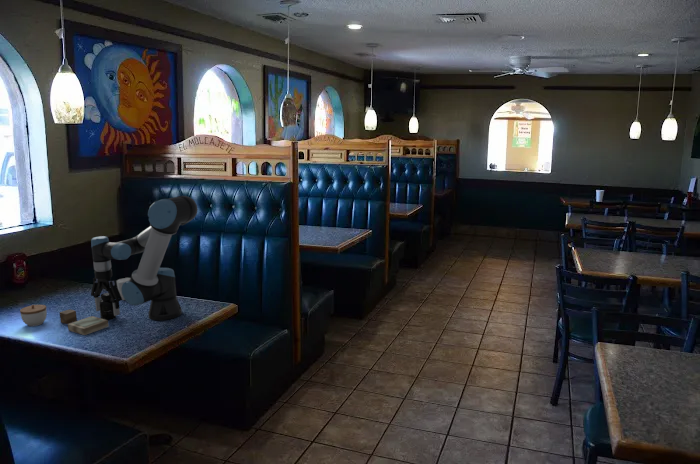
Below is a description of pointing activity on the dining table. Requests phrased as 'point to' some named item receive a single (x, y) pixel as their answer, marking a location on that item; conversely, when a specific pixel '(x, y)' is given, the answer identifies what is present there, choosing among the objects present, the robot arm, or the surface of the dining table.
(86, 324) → the plinth
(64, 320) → the walnut cube
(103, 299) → the supplement bottle
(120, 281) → the white cup
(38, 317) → the lidded jar
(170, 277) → the robot arm
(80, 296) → the dining table surface
